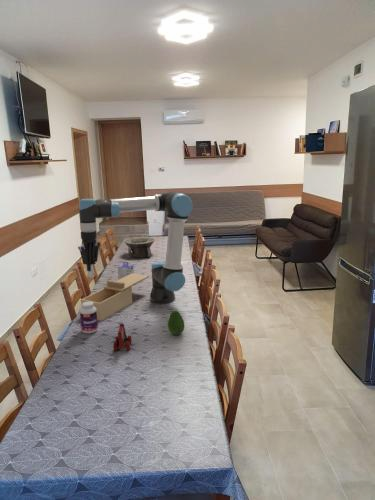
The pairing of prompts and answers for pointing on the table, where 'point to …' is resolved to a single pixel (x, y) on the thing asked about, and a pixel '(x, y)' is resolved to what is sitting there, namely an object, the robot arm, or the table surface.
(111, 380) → the table surface
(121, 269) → the ink cartridge box
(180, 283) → the robot arm
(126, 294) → the mailer box
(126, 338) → the red pointed piece
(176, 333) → the fruit
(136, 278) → the lid
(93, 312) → the pill bottle
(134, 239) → the bowl
